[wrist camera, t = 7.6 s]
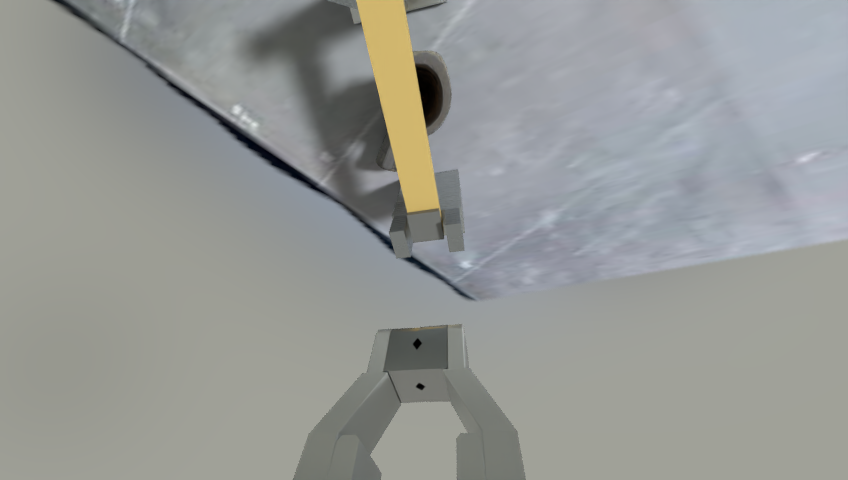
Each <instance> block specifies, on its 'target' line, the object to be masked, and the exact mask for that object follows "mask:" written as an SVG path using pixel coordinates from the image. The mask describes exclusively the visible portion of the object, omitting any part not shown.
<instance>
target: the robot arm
mask: <svg viewBox="0 0 848 480" xmlns="http://www.w3.org/2000/svg"><path fill="white" fill-rule="evenodd" d="M425 401H426V402H427V401H429V402H434V401H450V402H451V404H452V406H453V408H454V409H455V411H456V413H457V415H458V416H459V418H460V420H461V422H462V423H463V425H464V427H465V429H466V430H467V432H468V433H461V434H460V435H459V436H458V437H457V439H456V442H457V480H526V479H525V472H524V467H523V461H522V456H521V450H520V444H519V439H518V433H517V430H516V429H515V428H514V426H513V425H512V424H511V422H510V421H509V420H508V418H507V417H506V416H505V414H504V413H503V412H502V410H501V409H500V408H499V406H498V405H497V404H496V402H495V401H494V400H493V398H492V397H491V396H490V394H489V393H488V392H487V390H486V389H485V388H484V386H483V385H482V384H481V382H480V381H479V380H478V378H477V377H476V376H475V374H474V373H473V372H472V370H471V369H470V368H469V363H468V354H467V346H466V339H465V332H464V326H463V324H457V325H440V326H429V327H420V328H404V329H403V328H402V329H383V330H378V332H377V333H376V336H375V340H374V344H373V348H372V353H371V357H370V361H369V365H368V370H367V373H362V374H361V376H360V377H359V378H358V379H357V380H356V381H355V382H354V383H353V385H352V386H351V387H350V388H349V389H348V390H347V391H346V392H345V394H344V395H343V396H342V397H341V398H340V399H339V400H338V401H337V403H336V404H335V405H334V406H333V407H332V409H331V410H330V411H329V412H328V413H327V414H326V415H325V416H324V417H323V418H322V420H321V421H320V422H319V423H318V424H317V425H316V426H315V427H314V429H313V430H312V431H311V432H310V433H309V435H308V438H307V441H306V443H305V446H304V450H303V452H302V455H301V458H300V461H299V464H298V467H297V469H296V472H295V475H294V478H293V480H381V472H380V470H379V468H378V467H377V465H376V464H375V462H374V461H373V459H372V458H371V456H370V454H371V452H372V451H373V449H374V448H375V446H376V444H377V443H378V441H379V439H380V438H381V436H382V434H383V433H384V431H385V430H386V428H387V427H388V425H389V423H390V422H391V420H392V418H393V417H394V415H395V414H396V412H397V410H398V409H399V407H400V406H401V403H410V402H425Z"/></svg>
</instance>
